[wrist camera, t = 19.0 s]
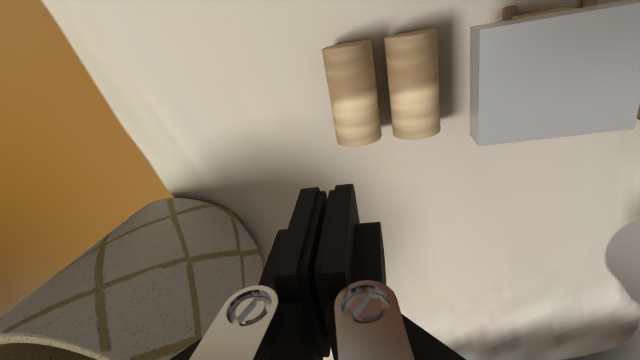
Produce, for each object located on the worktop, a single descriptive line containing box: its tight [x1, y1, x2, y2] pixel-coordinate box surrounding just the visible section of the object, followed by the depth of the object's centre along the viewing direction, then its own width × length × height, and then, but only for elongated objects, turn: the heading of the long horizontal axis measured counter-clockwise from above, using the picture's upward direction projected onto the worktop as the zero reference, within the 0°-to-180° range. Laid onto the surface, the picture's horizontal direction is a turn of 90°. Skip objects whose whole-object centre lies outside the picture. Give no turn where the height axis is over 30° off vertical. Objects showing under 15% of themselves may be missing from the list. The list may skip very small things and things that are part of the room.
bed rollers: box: [322, 0, 597, 147], centre depth 29 cm, size 9×21×4 cm, turn 100°
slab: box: [470, 0, 640, 146], centre depth 24 cm, size 8×10×2 cm
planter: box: [0, 198, 263, 360], centre depth 35 cm, size 19×19×20 cm
